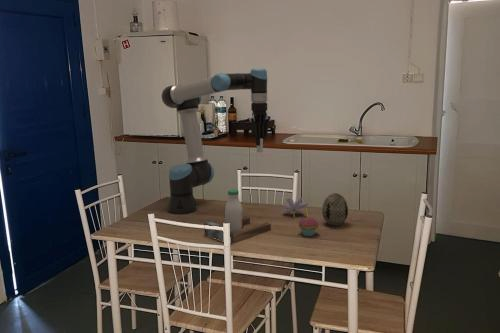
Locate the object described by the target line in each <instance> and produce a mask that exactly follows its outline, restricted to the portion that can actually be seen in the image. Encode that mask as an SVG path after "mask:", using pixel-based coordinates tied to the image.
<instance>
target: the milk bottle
mask: <svg viewBox="0 0 500 333" xmlns="http://www.w3.org/2000/svg"><path fill="white" fill-rule="evenodd" d="M227 196H228V198H227V202H226V203H225V207H224V223H230V229H233V234H234V233H237V232H240V231H243V230H244V225H243V217H244V216H243V206H242V204H241V201H240V198H239V189H234V188H232V189H228V190H227Z"/></svg>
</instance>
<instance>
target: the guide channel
mask: <svg viewBox="0 0 500 333" xmlns="http://www.w3.org/2000/svg"><path fill="white" fill-rule="evenodd" d="M250 223H251V219H250V216H243V226H246V225H249V224H250ZM205 225H209V226H219V227H223V223H219V224H218V223H215V222H212V221H210V220H208V221H205V222H204V226H205ZM271 225H272V223H270V222H267V221H266V222H264V223H260V224H257V225H255V226H252V227H249V228H245V229H243V231H240V232H237V233H234V234H233V229H230V237H231V244H230V245H232V244H235V243H238V242H241V241H243V240H246V239H250V238H252V237H255V236H259V235H260V234H263V233H266V232H269V231H271V230H272V228H271V227H272V226H271ZM205 235H206V237H207V236H209V237H208V238H210V237H212V238H211V239H213V238H216V239H219V240H221V241H223V231H217V230H206V229H205V228H204V236H205Z"/></svg>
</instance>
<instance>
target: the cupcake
mask: <svg viewBox="0 0 500 333" xmlns="http://www.w3.org/2000/svg"><path fill="white" fill-rule="evenodd" d="M305 212H306V213H305V214H306V218H305V217H304V218H302V219H301V220H300V221H299V222H298V227H299V229H300V230H301V233H302V236H305V237H312V236H315V232H316V230H317V229H318V228H319V226H320V225H319V222H318V221H317V220H316V219H314V218H310V217H309V211H308V207H307V206H306V209H305Z"/></svg>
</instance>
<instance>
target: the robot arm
mask: <svg viewBox="0 0 500 333" xmlns="http://www.w3.org/2000/svg"><path fill="white" fill-rule="evenodd" d="M267 72H268V71H267V69H266V68H251V69H250V72H249V73H247V72H245V73H243V72H241V73H238V72H237V73H221V72H220V73H216V74H214V75H213V76H211V77H210V76H209V77H206V78H204V79H199V80H197V81H192V82H190V83H189V82H188V83H185V84H175V85H174V84H173V85H168V86H166V87H165V88H164V89H163V90H162V93H161V100H162V103H163V104H164V105H165V106H166V107H168V108H171V109H176V112H177V113H178V114H179V115H180V118H181V119H180V120H181V125H182V130H183V137H184V141H185V146H186V147H185V148H186V153H187V158H188V159H187V161H186V162H185V163H182V164H176V165H173V166H172V167H170V169H169V173H168V178H169V180H168V181H169V191H170V196H169V200H168V204H167V212H168V213H170V214H174V215H185V214H191V213H194V212H196V211H197V210H198V205H197V202H196V198H195V196H194V188H197V187H199V186H205V185H206V184H209V183H210V182H212V180H213V178H214V176H215V168H214V166H213V165H212V163H210V162H209V161H208V160H209V159H208V158H207V157H205V153H204V148H203V141H202V136H201V129H200V125H199V118H198V114H197V112H198V110H199V108H200V107H199V105H200V104H201V101H202V97H205V96H209V95H213V94H216V93H217V94H218V93H222V92H225V91H237V90H238V91H239V90H250V93H251V94H250V96H251V97H250V99H251V100H250V101H251V104H250V105H251V109H250V110H251V111H252V113H251V117H248V119H247V120H248V122H249V125H250V126H249V127H250V132H251V136H252V138H253V139H255V146H256V153H263V152H264V143H265V142H264V141H265V139H266V137H267V136H268V131H269V123H270V121H271V116H270V115H269V116H268V114H267V113H268V112H267V111H268V73H267Z"/></svg>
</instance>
